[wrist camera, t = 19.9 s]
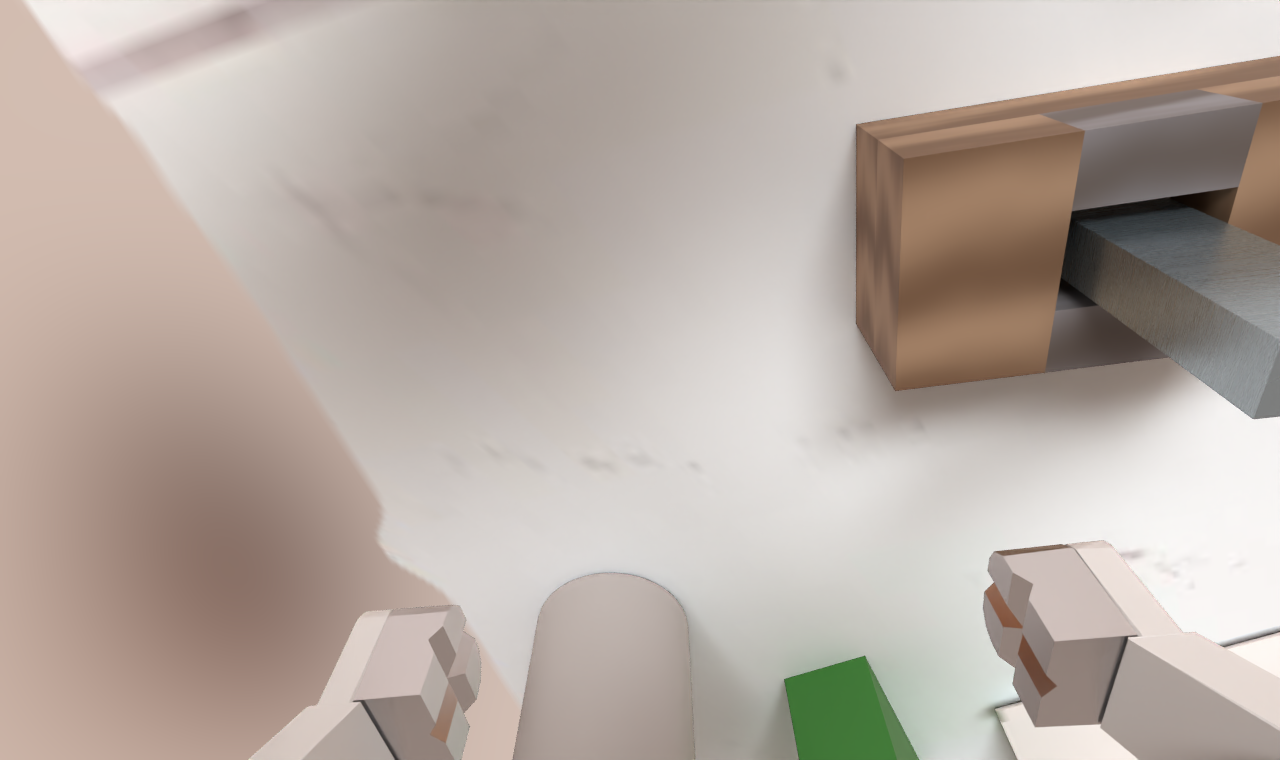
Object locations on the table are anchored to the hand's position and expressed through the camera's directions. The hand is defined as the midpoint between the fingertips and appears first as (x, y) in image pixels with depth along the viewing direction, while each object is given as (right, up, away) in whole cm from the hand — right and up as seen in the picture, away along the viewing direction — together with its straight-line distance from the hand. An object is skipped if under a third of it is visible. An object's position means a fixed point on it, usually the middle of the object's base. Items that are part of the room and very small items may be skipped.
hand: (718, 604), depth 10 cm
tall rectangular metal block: (+22, +11, +24) cm, 35 cm away
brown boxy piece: (+22, +14, +28) cm, 38 cm away
